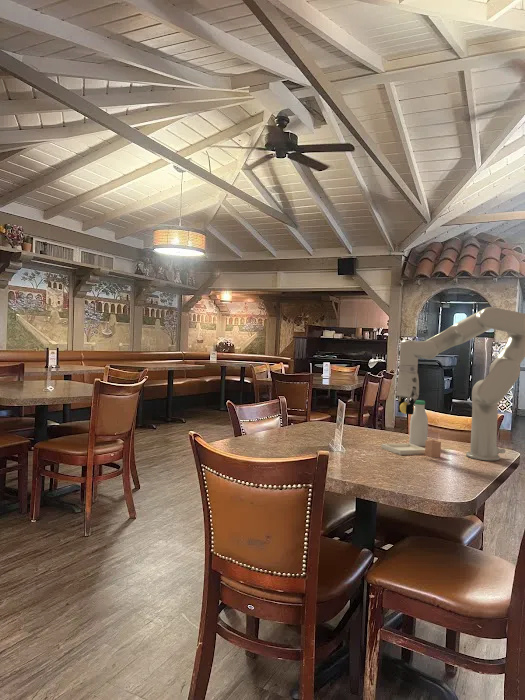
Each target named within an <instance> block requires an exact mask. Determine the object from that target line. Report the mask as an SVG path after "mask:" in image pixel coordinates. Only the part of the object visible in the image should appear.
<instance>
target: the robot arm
mask: <svg viewBox="0 0 525 700" xmlns="http://www.w3.org/2000/svg"><path fill="white" fill-rule="evenodd" d="M491 329H493V330H497V331H499V332H500V331H501V332H505V333H506V334H507V342H506V343H505V345H504V346H503V348H502V350H501V351H500V352H499V354H497V357H495V359H494V360H493V361H492V362H491V364H490V365H489V373H488V374H487V376H486V377H485V378H484V379H479V380H478V381H476V383H475V384H474V385H473V387H472V391H471V402H472V403H471V405H472V406H471V408H472V409H471V410H472V411H471V429H470V432H471V433H470V451H467V452H466V453H465V456H466V457H467V458H470V459H474V460H481V461H487V462H489V461H491V462H492V461H493V462H495V461H500V460H501V456H500V455H499V454H505V453H506V449H505V448H502V447H501V448H499V447H498V446H497V438H498V437H497V436H498V434H497V433H498V421H499V420H498V415H499V412H498V411H499V409H498V407H499V406H498V404H499V403H500V402H501V401H502V400H503V399H504V398H505V397H506V395H507V394H508V393H509V391H510V390H511V388H512V387H513V386H514V384H516V382H517V380H518V379H519V377H520V376H521V366H520V365H521V364H522V362H523V361H524V360H525V312H524V313H523V312H519V311H513V310H510V309H509V310H508V309H504V308H499V307H495V306H488V307H485V308H483V309H480V310H478V311H477V312H475V313H473V314H471V315H469V316H468V317H466V318H464V319H461V320H459V321H458V322H456V323H454V324H453V325H451V326H449V327H448V328H446V329H445V330H443V331H441V332H440V333H438V334H436V335H434V336H432V337H430V338H428V339H427V340H421V341H419V340H418V341H417V340H411V339H409V340H408V339H407V340H406V339H405V340H401V341H400V344H399V361H398V375H397V380H396V392H395V395H396V398H397V403H398V406H397V408H398V410H397V411H398V413H402V412H401V411H400V405H401V403H403V402H407V403H408V404H407V405H406V414H405V415H412V414H413V411H414V408H415V402H416V400H419V395H420V380H419V379H420V378H419V373H418V368H419V367H418V365H419V364H418V363H419V358H422V359H427V360H431V359H434V358H435V357H437V355H440V354H441V353H443V352H445V351H447V350H448V349H451V348H453V347H456V346H459V345H462V344H464V343H466V342H468V341H471V340H473V339H474V338H476V337H477V336H480V335H482V334H484V333H485V332H488V331H489V330H491ZM406 400H407V401H406Z"/></svg>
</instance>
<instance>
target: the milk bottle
mask: <svg viewBox="0 0 525 700" xmlns="http://www.w3.org/2000/svg"><path fill="white" fill-rule="evenodd" d="M425 406H426V401H425V400H422V399H421V400H420V399H417V400H416V402H415V405H414V411H413V414H410V419H409V420H410V421H409V437H408V443H410V444H413V445H416V446H419V447H425V443H426V440H428V434H429V433H428V432H429V431H428V430H429V421H428V420H429V418H428V415H427V412H426V408H425Z"/></svg>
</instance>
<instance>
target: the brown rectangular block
mask: <svg viewBox="0 0 525 700" xmlns="http://www.w3.org/2000/svg"><path fill="white" fill-rule="evenodd" d="M424 448H425V454H424V456H427V457H430V458H441V450H442V449H441V448H442V441H440V440H435V439H431V440H430V439H429V440H428V439H427V440H426V443H425V446H424Z"/></svg>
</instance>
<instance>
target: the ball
mask: <svg viewBox="0 0 525 700" xmlns="http://www.w3.org/2000/svg"><path fill="white" fill-rule="evenodd" d="M407 404H408V403H407V401H405V402H403V403H401V405H400V411H401V412H400V413H402V414H405V415H407V414H406V405H407Z"/></svg>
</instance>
